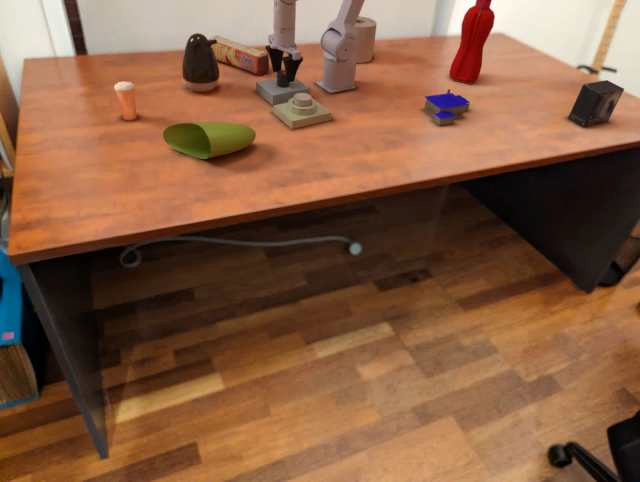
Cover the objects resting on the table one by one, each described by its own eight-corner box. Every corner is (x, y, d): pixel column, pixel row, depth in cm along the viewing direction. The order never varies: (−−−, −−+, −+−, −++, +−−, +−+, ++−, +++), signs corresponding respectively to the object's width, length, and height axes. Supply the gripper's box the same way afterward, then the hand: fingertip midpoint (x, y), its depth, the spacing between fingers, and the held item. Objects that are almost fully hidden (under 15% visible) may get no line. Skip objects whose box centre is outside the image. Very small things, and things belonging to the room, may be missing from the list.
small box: (584, 128, 139) (600, 93, 133) (566, 118, 144) (581, 83, 137) (609, 122, 143) (626, 88, 137) (590, 113, 148) (606, 79, 141)
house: (480, 120, 139) (486, 101, 135) (438, 126, 134) (443, 107, 130) (457, 103, 146) (462, 84, 143) (416, 108, 141) (420, 89, 138)
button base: (311, 105, 138) (311, 91, 136) (330, 120, 132) (331, 106, 130) (273, 112, 133) (273, 98, 130) (291, 129, 127) (292, 114, 124)
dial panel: (292, 84, 148) (292, 74, 146) (309, 98, 142) (310, 87, 140) (256, 91, 142) (256, 81, 140) (272, 105, 136) (272, 94, 134)
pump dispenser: (213, 98, 137) (209, 42, 127) (178, 92, 138) (171, 37, 128) (226, 84, 145) (223, 30, 135) (192, 79, 146) (187, 25, 136)
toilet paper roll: (339, 48, 175) (342, 14, 167) (373, 52, 174) (378, 18, 166) (335, 60, 165) (339, 24, 158) (371, 65, 165) (376, 29, 157)
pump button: (305, 98, 133) (305, 91, 131) (314, 105, 130) (315, 98, 129) (290, 102, 131) (290, 94, 129) (299, 109, 128) (299, 101, 126)
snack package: (271, 71, 155) (271, 49, 150) (257, 77, 150) (257, 55, 146) (220, 53, 163) (219, 32, 158) (206, 59, 158) (204, 37, 154)
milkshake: (145, 114, 127) (138, 76, 121) (132, 123, 123) (125, 84, 117) (129, 110, 128) (122, 73, 122) (116, 119, 124) (108, 80, 118)
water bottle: (445, 81, 158) (466, -3, 142) (451, 70, 166) (471, -11, 150) (474, 88, 156) (498, 3, 140) (479, 76, 164) (502, -5, 148)
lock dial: (274, 83, 140) (274, 70, 138) (285, 81, 142) (285, 68, 140) (280, 88, 138) (280, 74, 136) (291, 86, 140) (292, 72, 137)
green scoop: (177, 133, 102) (265, 123, 111) (161, 119, 111) (243, 111, 121) (180, 169, 106) (265, 156, 115) (165, 152, 115) (244, 142, 124)
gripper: (258, 19, 132) (258, 69, 141) (284, 36, 124) (283, 88, 132) (281, 16, 136) (280, 65, 144) (308, 33, 127) (306, 84, 136)
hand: (283, 76), depth 139 cm, fingers open, 7 cm apart
